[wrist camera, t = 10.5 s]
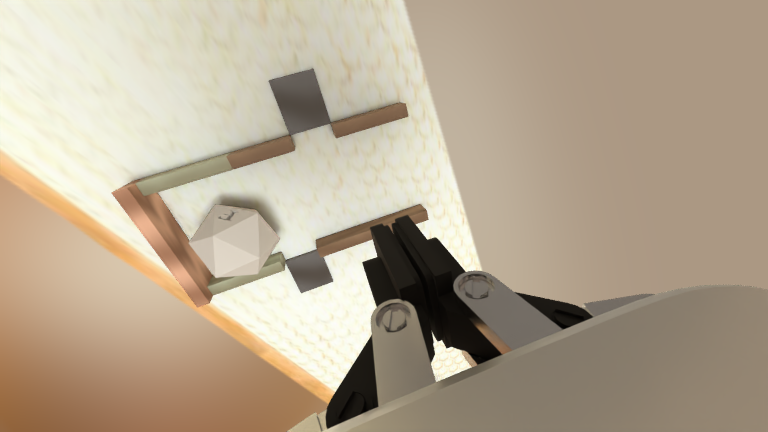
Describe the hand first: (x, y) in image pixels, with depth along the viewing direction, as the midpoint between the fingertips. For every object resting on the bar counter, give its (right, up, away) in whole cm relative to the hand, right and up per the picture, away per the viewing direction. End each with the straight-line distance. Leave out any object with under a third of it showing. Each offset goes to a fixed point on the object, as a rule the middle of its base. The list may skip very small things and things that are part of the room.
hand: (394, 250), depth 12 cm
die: (-19, 0, +25) cm, 31 cm away
